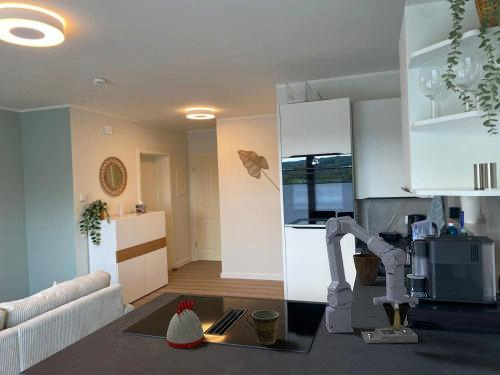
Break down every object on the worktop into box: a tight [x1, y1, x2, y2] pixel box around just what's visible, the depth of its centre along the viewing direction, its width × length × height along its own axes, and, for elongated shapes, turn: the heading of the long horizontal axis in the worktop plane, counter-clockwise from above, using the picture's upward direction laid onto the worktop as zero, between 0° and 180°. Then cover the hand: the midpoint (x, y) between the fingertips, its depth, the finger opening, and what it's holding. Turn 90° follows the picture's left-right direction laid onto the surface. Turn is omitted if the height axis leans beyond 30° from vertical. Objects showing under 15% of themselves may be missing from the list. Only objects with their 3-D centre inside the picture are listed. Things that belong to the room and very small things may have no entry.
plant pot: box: [352, 253, 381, 287], centre depth 214 cm, size 15×15×16 cm
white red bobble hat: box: [166, 298, 205, 349], centre depth 143 cm, size 14×14×15 cm
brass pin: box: [391, 307, 402, 331], centre depth 130 cm, size 3×3×7 cm
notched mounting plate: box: [360, 327, 419, 344], centre depth 139 cm, size 18×8×3 cm, turn 88°
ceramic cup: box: [245, 309, 280, 346], centre depth 140 cm, size 13×10×10 cm
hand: (396, 324), depth 130 cm, fingers closed on brass pin, 3 cm apart
